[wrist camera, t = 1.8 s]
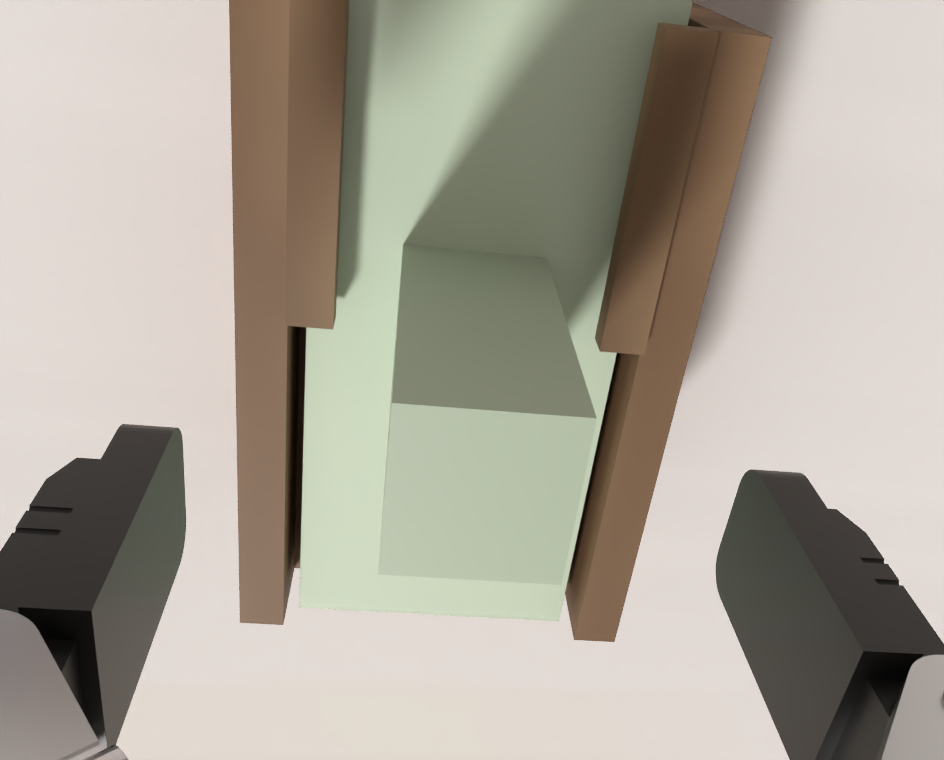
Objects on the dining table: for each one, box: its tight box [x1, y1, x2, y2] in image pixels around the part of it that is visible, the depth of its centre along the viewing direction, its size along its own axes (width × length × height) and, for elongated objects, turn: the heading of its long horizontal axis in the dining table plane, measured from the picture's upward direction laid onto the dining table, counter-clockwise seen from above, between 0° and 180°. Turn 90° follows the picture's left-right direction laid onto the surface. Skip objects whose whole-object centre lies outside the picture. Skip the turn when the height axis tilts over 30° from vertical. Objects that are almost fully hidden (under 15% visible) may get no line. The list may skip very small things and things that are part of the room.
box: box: [229, 0, 772, 642], centre depth 20 cm, size 9×14×6 cm, turn 174°
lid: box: [299, 0, 693, 621], centre depth 16 cm, size 6×16×7 cm, turn 174°
